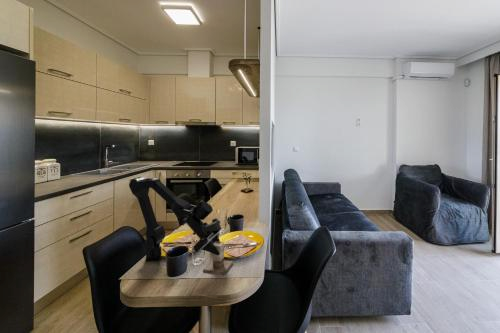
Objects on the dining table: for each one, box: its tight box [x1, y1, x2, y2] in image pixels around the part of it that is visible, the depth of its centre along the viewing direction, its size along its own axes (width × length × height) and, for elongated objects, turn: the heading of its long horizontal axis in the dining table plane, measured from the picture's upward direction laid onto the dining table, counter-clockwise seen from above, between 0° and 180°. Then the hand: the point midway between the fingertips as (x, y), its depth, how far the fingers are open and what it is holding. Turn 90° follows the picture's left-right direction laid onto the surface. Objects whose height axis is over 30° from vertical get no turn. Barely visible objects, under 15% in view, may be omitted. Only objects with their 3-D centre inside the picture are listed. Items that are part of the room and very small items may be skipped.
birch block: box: [211, 241, 225, 261], centre depth 119 cm, size 4×4×7 cm
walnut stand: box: [202, 258, 233, 276], centre depth 120 cm, size 10×10×4 cm
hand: (220, 252), depth 118 cm, fingers closed on birch block, 4 cm apart
